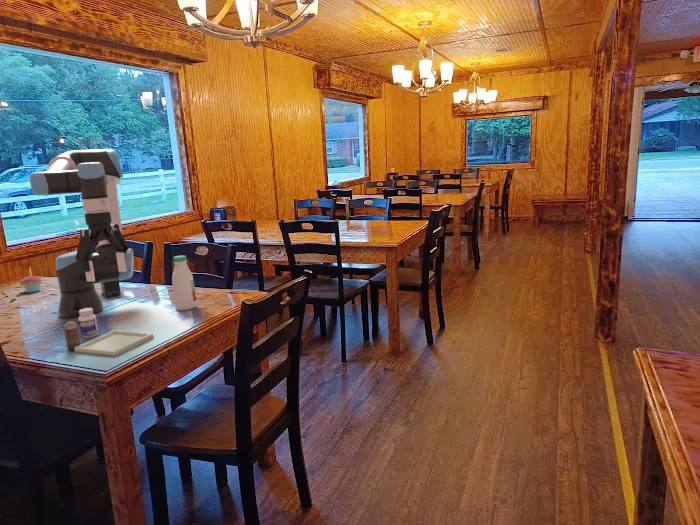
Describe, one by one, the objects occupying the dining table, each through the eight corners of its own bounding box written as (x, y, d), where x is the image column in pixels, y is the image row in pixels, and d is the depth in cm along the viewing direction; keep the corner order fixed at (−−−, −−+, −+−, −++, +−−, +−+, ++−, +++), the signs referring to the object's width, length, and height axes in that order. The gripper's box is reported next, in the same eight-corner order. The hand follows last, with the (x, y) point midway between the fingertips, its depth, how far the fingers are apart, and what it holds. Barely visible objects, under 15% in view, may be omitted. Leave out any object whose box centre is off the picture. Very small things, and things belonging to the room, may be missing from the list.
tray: (74, 352, 150) (74, 347, 150) (116, 334, 164) (115, 329, 164) (114, 356, 144) (113, 352, 144) (153, 338, 158) (152, 333, 158)
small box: (122, 294, 217) (118, 270, 215) (105, 297, 213) (101, 273, 211) (117, 290, 226) (113, 267, 223) (101, 292, 222) (97, 269, 220)
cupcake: (46, 289, 233) (42, 264, 231) (27, 294, 226) (22, 268, 224) (37, 288, 238) (32, 263, 236) (18, 292, 231) (13, 267, 229)
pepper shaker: (65, 350, 151) (60, 322, 150) (75, 346, 155) (70, 319, 153) (73, 352, 150) (68, 323, 148) (84, 347, 153) (79, 319, 152)
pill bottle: (85, 333, 167) (81, 307, 165) (101, 332, 167) (97, 306, 166) (78, 338, 162) (73, 312, 160) (95, 337, 162) (90, 311, 160)
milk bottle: (190, 311, 186) (183, 258, 182) (171, 311, 187) (164, 258, 183) (200, 305, 193) (194, 254, 189) (182, 305, 195) (175, 254, 191)
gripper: (74, 216, 148) (85, 286, 152) (134, 207, 171) (143, 267, 176) (54, 216, 151) (67, 285, 155) (116, 207, 174) (125, 267, 178)
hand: (107, 276), depth 165 cm, fingers open, 13 cm apart
